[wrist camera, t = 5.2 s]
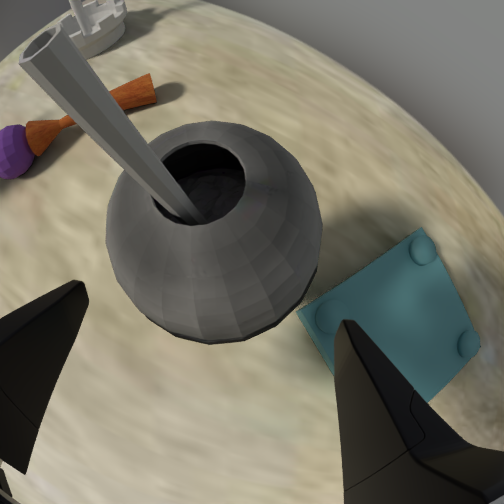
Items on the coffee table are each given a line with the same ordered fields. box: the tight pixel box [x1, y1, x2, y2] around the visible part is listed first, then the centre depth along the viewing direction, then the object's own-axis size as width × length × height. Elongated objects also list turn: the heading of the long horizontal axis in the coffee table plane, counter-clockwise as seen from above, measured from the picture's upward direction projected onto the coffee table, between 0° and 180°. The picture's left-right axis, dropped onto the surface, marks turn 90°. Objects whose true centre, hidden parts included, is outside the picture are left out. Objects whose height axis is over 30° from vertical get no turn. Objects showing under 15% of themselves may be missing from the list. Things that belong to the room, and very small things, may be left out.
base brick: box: [296, 227, 481, 403], centre depth 19 cm, size 12×12×3 cm
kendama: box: [0, 73, 157, 179], centre depth 22 cm, size 6×6×20 cm
